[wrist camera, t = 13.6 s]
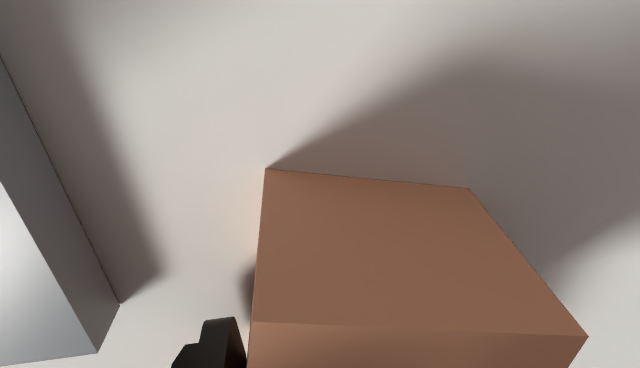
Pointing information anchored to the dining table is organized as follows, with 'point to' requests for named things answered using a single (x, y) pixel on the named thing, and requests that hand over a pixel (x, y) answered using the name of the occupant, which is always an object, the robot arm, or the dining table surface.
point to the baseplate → (43, 253)
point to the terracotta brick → (395, 281)
